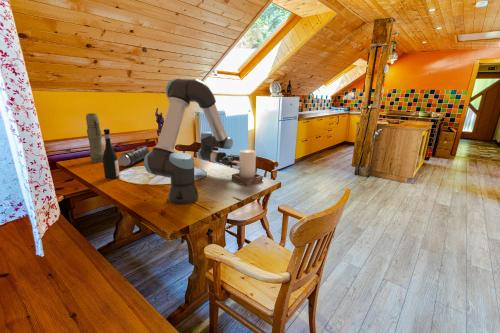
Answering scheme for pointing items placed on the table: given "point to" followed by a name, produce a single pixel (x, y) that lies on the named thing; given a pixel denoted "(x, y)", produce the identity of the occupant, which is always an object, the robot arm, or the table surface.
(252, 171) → the ceramic canister
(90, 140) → the grey stone pillar
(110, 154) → the wine bottle
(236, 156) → the robot arm
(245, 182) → the coaster tray
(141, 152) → the muzzle brake
